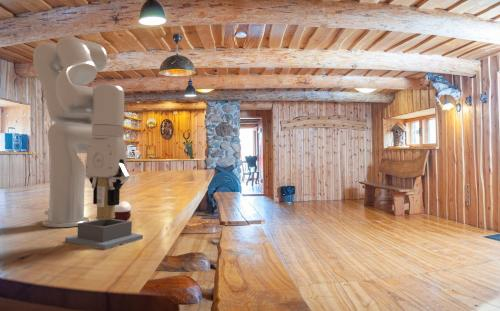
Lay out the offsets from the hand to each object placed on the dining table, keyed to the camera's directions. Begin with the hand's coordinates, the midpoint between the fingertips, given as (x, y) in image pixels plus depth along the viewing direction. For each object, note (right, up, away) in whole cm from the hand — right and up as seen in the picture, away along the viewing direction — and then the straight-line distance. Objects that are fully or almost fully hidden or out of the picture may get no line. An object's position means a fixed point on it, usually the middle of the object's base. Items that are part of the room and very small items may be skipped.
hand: (106, 203), depth 86 cm
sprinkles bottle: (0, -4, 0) cm, 4 cm away
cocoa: (-6, -10, +25) cm, 27 cm away
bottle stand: (0, -9, 0) cm, 9 cm away
